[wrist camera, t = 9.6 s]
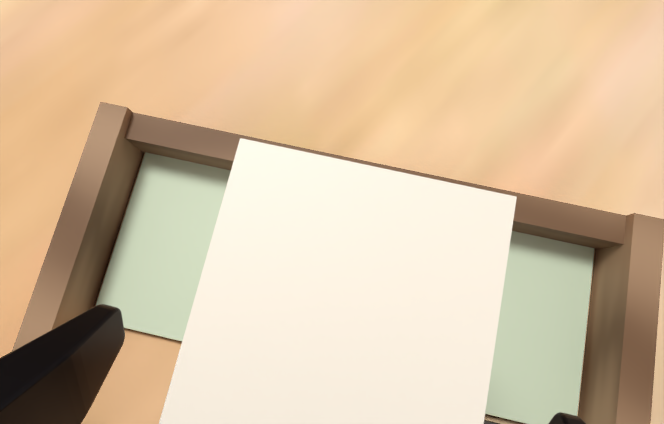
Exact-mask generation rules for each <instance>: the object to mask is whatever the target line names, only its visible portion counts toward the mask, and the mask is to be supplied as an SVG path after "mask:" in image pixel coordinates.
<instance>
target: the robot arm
mask: <svg viewBox="0 0 664 424" xmlns="http://www.w3.org/2000/svg"><path fill="white" fill-rule="evenodd" d="M124 338H125V332H124V325H123V319H122V313H121V310H120V309H119V308H117V307H114V306H109V305H105V304H99V305H96V306H94V307H93V308H91V309H89V310H87V311H85V312H83V313H82V314H80V315H78V316H76V317H74V318H72V319H71V320H69V321H67V322H65V323H63V324H61V325H60V326H58V327H56V328H54V329H52V330H50V331H49V332H47V333H45V334H43V335H41V336H40V337H38V338H36V339H34V340H32V341H30V342H29V343H27V344H25V345H23V346H21V347H19V348H18V349H16V350H14V351H12V352H10V353H8V354H7V355H5V356H3V357H1V358H0V424H81V423H82V421H83V419H84V418H85V416H86V414H87V413H88V411H89V409H90V407H91V405H92V403H93V402H94V400H95V398H96V396H97V394H98V392H99V390H100V388H101V386H102V384H103V382H104V380H105V378H106V376H107V374H108V372H109V370H110V368H111V366H112V364H113V362H114V361H115V359H116V357H117V355H118V353H119V351H120V349H121V347H122V345H123V342H124ZM548 424H586V423H585V422H584V420H582V419H581V418H580V417H578V416H575V415H571V414H567V413H563V412H559V413H556V414H555V415H554V416H553V418H552V419H551V421H550V422H549V423H548Z"/></svg>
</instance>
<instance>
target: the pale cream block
mask: <svg viewBox="0 0 664 424" xmlns="http://www.w3.org/2000/svg"><path fill="white" fill-rule="evenodd" d="M516 199H517V197H516V196H511V195H506V194H502V193H497V192H492V191H488V190H483V189H478V188H473V187H469V186H464V185H459V184H455V183H450V182H445V181H440V180H436V179H431V178H426V177H422V176H417V175H412V174H407V173H403V172H398V171H393V170H389V169H384V168H379V167H374V166H370V165H365V164H360V163H356V162H351V161H346V160H341V159H337V158H332V157H327V156H323V155H318V154H313V153H308V152H304V151H299V150H294V149H290V148H285V147H280V146H275V145H271V144H266V143H261V142H257V141H252V140H247V139H242V138H240V140H239V144H238V147H237V151H236V154H235V158H234V161H233V165H232V168H231V172H230V175H229V179H228V182H227V186H226V190H225V193H224V197H223V200H222V204H221V207H220V211H219V214H218V218H217V221H216V225H215V228H214V232H213V235H212V239H211V242H210V246H209V249H208V253H207V256H206V260H205V263H204V267H203V270H202V274H201V278H200V281H199V285H198V288H197V292H196V295H195V299H194V302H193V306H192V309H191V313H190V316H189V320H188V323H187V327H186V330H185V334H184V337H183V341H182V344H181V348H180V351H179V355H178V358H177V362H176V365H175V369H174V373H173V376H172V380H171V383H170V387H169V390H168V394H167V397H166V401H165V404H164V408H163V411H162V415H161V418H160V422H159V424H484V417H485V410H486V404H487V397H488V390H489V383H490V376H491V369H492V363H493V356H494V349H495V342H496V335H497V328H498V322H499V315H500V308H501V301H502V294H503V287H504V281H505V274H506V267H507V260H508V253H509V246H510V240H511V233H512V226H513V219H514V212H515V205H516Z"/></svg>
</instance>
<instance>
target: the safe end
mask: <svg viewBox="0 0 664 424" xmlns="http://www.w3.org/2000/svg"><path fill="white" fill-rule="evenodd" d="M230 172H231V170H226V169H221V168H217V167H212V166H207V165H203V164H198V163H193V162H189V161H184V160H179V159H175V158H170V157H165V156H161V155H156V154H151V153H147V152H145V155H144V158H143V161H142V164H141V167H140V170H139V173H138V177H137V180H136V183H135V186H134V189H133V192H132V195H131V198H130V201H129V204H128V207H127V210H126V213H125V217H124V220H123V223H122V226H121V229H120V232H119V235H118V238H117V241H116V244H115V247H114V250H113V254H112V257H111V260H110V263H109V266H108V269H107V272H106V275H105V278H104V281H103V284H102V287H101V290H100V294H99V297H98V300H97V303H96V305H99V304H105V305H109V306H114V307H117V308H119V309H120V310H121V313H122V319H123V325H124V328H128V329H132V330H136V331H140V332H145V333H149V334H153V335H157V336H161V337H166V338H170V339H174V340H178V341H183V337H184V334H185V330H186V327H187V323H188V320H189V316H190V313H191V309H192V306H193V302H194V299H195V295H196V292H197V288H198V285H199V281H200V278H201V274H202V270H203V267H204V263H205V260H206V256H207V253H208V249H209V246H210V242H211V239H212V235H213V232H214V228H215V225H216V221H217V218H218V214H219V211H220V207H221V204H222V200H223V197H224V193H225V190H226V186H227V182H228V179H229V175H230ZM594 249H595V248H590V247H586V246H581V245H576V244H572V243H567V242H562V241H558V240H553V239H548V238H544V237H539V236H534V235H530V234H525V233H520V232H516V231H512V233H511V240H510V246H509V253H508V260H507V267H506V274H505V281H504V287H503V294H502V301H501V308H500V315H499V322H498V328H497V335H496V342H495V349H494V356H493V363H492V369H491V376H490V383H489V390H488V397H487V404H486V410H485V414H488V415H493V416H497V417H501V418H505V419H509V420H513V421H518V422H522V423H526V424H548V423H549V422H550V421H551V419H552V418H553V416H554V415H555V414H556V413H559V412H563V413H567V414H571V415H575V416H577V412H578V403H579V393H580V383H581V374H582V364H583V355H584V345H585V335H586V326H587V316H588V307H589V297H590V288H591V278H592V268H593V259H594Z"/></svg>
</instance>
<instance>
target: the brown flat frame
mask: <svg viewBox="0 0 664 424" xmlns="http://www.w3.org/2000/svg"><path fill="white" fill-rule="evenodd" d="M240 138H242V139H247V140H252V141H257V142H261V143H266V144H271V145H275V146H280V147H285V148H290V149H294V150H299V151H304V152H308V153H313V154H318V155H323V156H327V157H332V158H337V159H341V160H346V161H351V162H356V163H360V164H365V165H370V166H374V167H379V168H384V169H389V170H393V171H398V172H403V173H407V174H412V175H417V176H422V177H426V178H431V179H436V180H440V181H445V182H450V183H455V184H459V185H464V186H469V187H473V188H478V189H483V190H488V191H492V192H497V193H502V194H506V195H511V196H516V197H517V199H516V205H515V212H514V219H513V226H512V231H516V232H520V233H525V234H530V235H534V236H539V237H544V238H548V239H553V240H558V241H562V242H567V243H572V244H576V245H581V246H586V247H590V248H595V249H594V250H595V258H594V268H593V277H592V287H591V297H590V306H589V316H588V325H587V335H586V345H585V354H584V364H583V374H582V383H581V393H580V402H579V412H578V417H580V418H581V419H582V420H584V422H585V423H586V424H650V421H651V407H652V393H653V380H654V366H655V352H656V339H657V325H658V311H659V297H660V284H661V270H662V256H663V243H664V219H660V218H655V217H650V216H645V215H640V214H636V213H634V214H630V215H627V216H625V215H621V214H616V213H611V212H606V211H601V210H597V209H592V208H587V207H582V206H577V205H573V204H568V203H563V202H558V201H554V200H549V199H544V198H539V197H534V196H530V195H525V194H520V193H515V192H511V191H506V190H501V189H496V188H491V187H487V186H482V185H477V184H472V183H467V182H463V181H458V180H453V179H448V178H444V177H439V176H434V175H429V174H424V173H420V172H415V171H410V170H405V169H401V168H396V167H391V166H386V165H381V164H377V163H372V162H367V161H362V160H357V159H353V158H348V157H343V156H338V155H334V154H329V153H324V152H319V151H314V150H310V149H305V148H300V147H295V146H291V145H286V144H281V143H276V142H271V141H267V140H262V139H257V138H252V137H248V136H243V135H238V134H233V133H228V132H224V131H219V130H214V129H209V128H204V127H200V126H195V125H190V124H185V123H181V122H176V121H171V120H166V119H161V118H157V117H152V116H147V115H142V114H138V113H133V112H132V111H131V110H130V109H128V108H127V107H123V106H118V105H113V104H108V103H103V102H100V105H99V108H98V111H97V114H96V116H95V119H94V122H93V125H92V128H91V130H90V133H89V136H88V139H87V142H86V145H85V147H84V150H83V153H82V156H81V159H80V161H79V164H78V167H77V170H76V173H75V176H74V178H73V181H72V184H71V187H70V190H69V192H68V195H67V198H66V201H65V204H64V206H63V209H62V212H61V215H60V218H59V221H58V223H57V226H56V229H55V232H54V235H53V237H52V240H51V243H50V246H49V249H48V252H47V254H46V257H45V260H44V263H43V266H42V268H41V271H40V274H39V277H38V280H37V283H36V285H35V288H34V291H33V294H32V297H31V299H30V302H29V305H28V308H27V311H26V314H25V316H24V319H23V322H22V325H21V328H20V330H19V333H18V336H17V339H16V342H15V345H14V347H13V350H12V351H14V350H16V349H18V348H19V347H21V346H23V345H25V344H27V343H29V342H30V341H32V340H34V339H36V338H38V337H40V336H41V335H43V334H45V333H47V332H49V331H50V330H52V329H54V328H56V327H58V326H60V325H61V324H63V323H65V322H67V321H69V320H71V319H72V318H74V317H76V316H78V315H80V314H82V313H83V312H85V311H87V310H89V309H91V308H93V307H94V306H95V303H96V300H97V297H98V294H99V291H100V288H101V285H102V281H103V278H104V275H105V272H106V269H107V266H108V263H109V260H110V257H111V254H112V251H113V248H114V245H115V242H116V238H117V235H118V232H119V229H120V226H121V223H122V220H123V217H124V214H125V211H126V208H127V205H128V202H129V198H130V195H131V192H132V189H133V186H134V183H135V180H136V177H137V174H138V171H139V168H140V165H141V162H142V158H143V155H144V154H145V152H147V153H151V154H156V155H161V156H165V157H170V158H175V159H179V160H184V161H189V162H193V163H198V164H203V165H207V166H212V167H217V168H221V169H226V170H231V168H232V165H233V161H234V158H235V154H236V151H237V147H238V144H239V140H240ZM484 424H498V423H494V422H490V421H486V420H484Z"/></svg>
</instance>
